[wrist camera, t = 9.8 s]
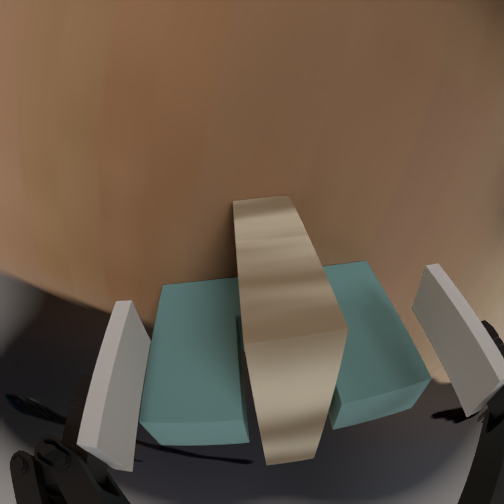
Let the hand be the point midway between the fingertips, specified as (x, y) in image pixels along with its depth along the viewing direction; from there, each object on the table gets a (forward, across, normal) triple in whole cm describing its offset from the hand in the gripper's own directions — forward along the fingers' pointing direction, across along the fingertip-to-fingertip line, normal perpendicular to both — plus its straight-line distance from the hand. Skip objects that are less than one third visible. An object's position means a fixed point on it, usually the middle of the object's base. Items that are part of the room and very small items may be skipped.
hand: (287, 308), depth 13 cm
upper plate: (+6, 0, -5) cm, 8 cm away
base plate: (+6, 0, -5) cm, 8 cm away
